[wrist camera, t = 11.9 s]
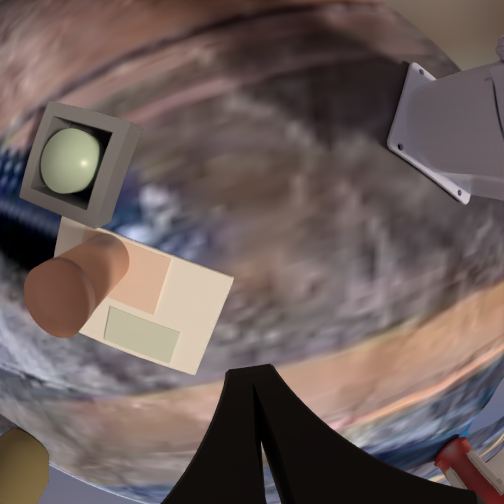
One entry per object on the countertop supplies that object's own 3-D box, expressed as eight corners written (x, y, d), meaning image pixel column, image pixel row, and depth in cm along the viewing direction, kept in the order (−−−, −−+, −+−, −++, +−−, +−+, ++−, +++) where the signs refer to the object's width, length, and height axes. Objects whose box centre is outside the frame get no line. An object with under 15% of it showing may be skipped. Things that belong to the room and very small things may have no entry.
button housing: (143, 129, 15) (131, 122, 13) (110, 222, 16) (95, 229, 14) (67, 108, 14) (49, 100, 12) (39, 194, 15) (19, 197, 13)
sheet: (234, 276, 18) (234, 278, 18) (195, 372, 20) (194, 376, 19) (64, 212, 16) (61, 213, 15) (48, 314, 17) (46, 317, 17)
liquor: (465, 437, 30) (538, 529, 3) (433, 465, 31) (499, 562, 4) (461, 426, 28) (546, 530, 2) (425, 457, 29) (500, 569, 2)
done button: (114, 141, 14) (102, 136, 13) (95, 199, 15) (81, 201, 13) (68, 127, 14) (53, 122, 12) (50, 182, 14) (34, 183, 12)
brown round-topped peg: (135, 242, 16) (89, 282, 10) (124, 290, 17) (81, 348, 10) (89, 225, 16) (26, 253, 9) (80, 273, 16) (23, 320, 10)
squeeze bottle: (68, 468, 22) (38, 574, 4) (25, 456, 21) (-11, 545, 4) (36, 426, 20) (-16, 543, 2) (-6, 415, 19) (-59, 508, 2)
